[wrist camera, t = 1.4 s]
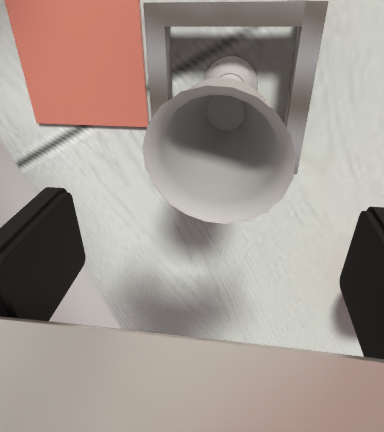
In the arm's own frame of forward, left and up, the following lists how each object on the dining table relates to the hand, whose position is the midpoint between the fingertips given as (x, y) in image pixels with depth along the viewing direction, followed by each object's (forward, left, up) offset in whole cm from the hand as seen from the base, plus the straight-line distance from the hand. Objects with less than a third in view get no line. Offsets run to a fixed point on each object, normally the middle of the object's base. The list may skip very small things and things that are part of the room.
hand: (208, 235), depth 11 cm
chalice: (0, 0, -24) cm, 24 cm away
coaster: (-2, -14, -24) cm, 28 cm away
